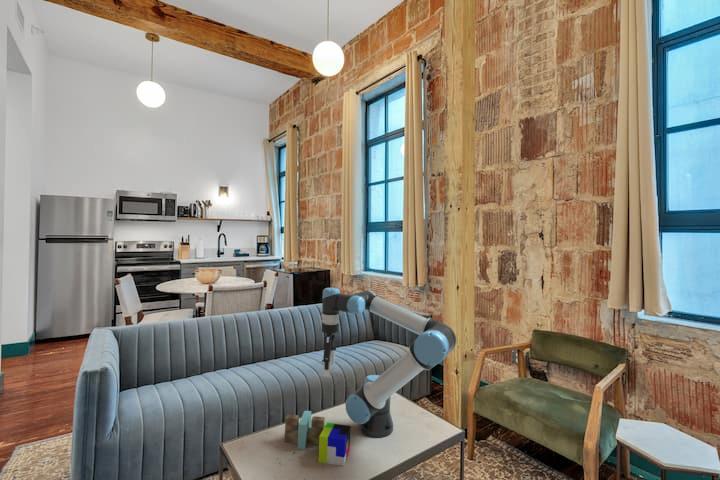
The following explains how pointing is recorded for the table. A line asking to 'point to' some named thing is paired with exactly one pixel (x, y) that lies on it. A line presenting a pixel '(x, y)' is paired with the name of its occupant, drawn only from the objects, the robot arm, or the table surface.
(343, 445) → the puzzle toy
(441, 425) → the table surface
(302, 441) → the notched teal block
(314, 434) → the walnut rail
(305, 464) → the table surface
